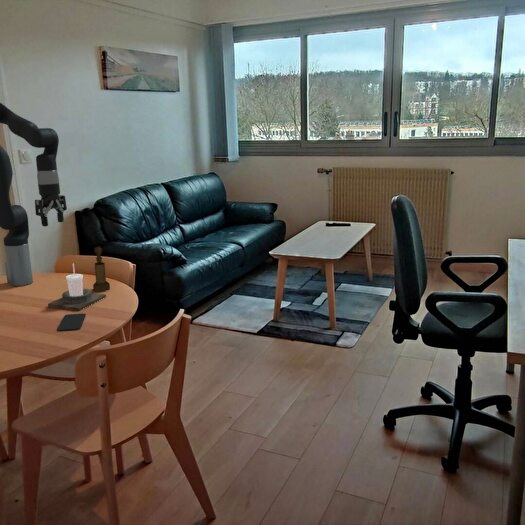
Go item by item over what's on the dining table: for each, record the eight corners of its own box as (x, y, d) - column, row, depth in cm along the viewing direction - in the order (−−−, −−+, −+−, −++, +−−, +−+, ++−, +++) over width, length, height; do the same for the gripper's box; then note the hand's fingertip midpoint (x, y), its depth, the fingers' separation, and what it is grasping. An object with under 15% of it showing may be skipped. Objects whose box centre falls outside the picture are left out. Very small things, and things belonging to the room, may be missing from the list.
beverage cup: (65, 298, 200) (61, 263, 196) (80, 295, 204) (76, 260, 200) (73, 302, 196) (69, 266, 192) (88, 298, 200) (84, 263, 196)
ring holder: (48, 306, 195) (47, 297, 194) (76, 293, 209) (75, 284, 208) (79, 311, 190) (78, 301, 189) (106, 297, 205) (105, 288, 204)
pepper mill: (107, 292, 211) (103, 248, 207) (91, 292, 212) (87, 248, 207) (112, 287, 218) (108, 244, 213) (96, 287, 218) (92, 244, 213)
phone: (86, 313, 187) (80, 328, 173) (86, 315, 187) (80, 330, 173) (64, 314, 186) (56, 330, 172) (64, 316, 186) (56, 332, 172)
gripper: (53, 180, 207) (58, 220, 211) (26, 184, 194) (31, 227, 198) (69, 180, 204) (73, 221, 209) (42, 184, 192) (47, 228, 196)
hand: (53, 224), depth 203 cm, fingers open, 8 cm apart
